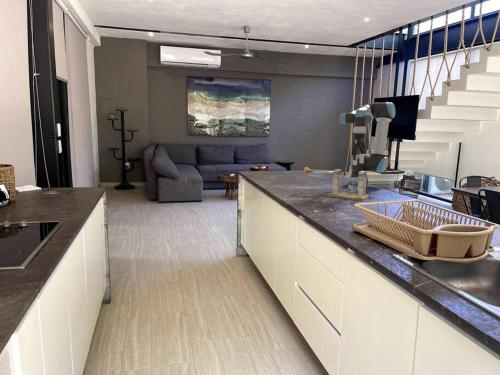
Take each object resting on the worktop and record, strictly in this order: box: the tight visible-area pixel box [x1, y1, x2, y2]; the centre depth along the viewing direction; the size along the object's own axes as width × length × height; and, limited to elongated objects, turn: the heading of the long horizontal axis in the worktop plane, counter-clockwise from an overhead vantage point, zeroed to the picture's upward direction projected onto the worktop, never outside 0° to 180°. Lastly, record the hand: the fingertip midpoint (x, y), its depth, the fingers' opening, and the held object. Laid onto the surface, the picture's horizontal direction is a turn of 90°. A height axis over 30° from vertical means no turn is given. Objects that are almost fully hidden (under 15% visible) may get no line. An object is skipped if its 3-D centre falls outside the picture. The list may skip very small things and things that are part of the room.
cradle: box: [326, 168, 371, 202], centre depth 248 cm, size 14×24×18 cm, turn 55°
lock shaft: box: [302, 166, 334, 176], centre depth 259 cm, size 5×24×5 cm, turn 55°
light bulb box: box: [347, 177, 367, 195], centre depth 262 cm, size 11×7×11 cm, turn 105°
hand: (358, 164), depth 259 cm, fingers open, 13 cm apart
